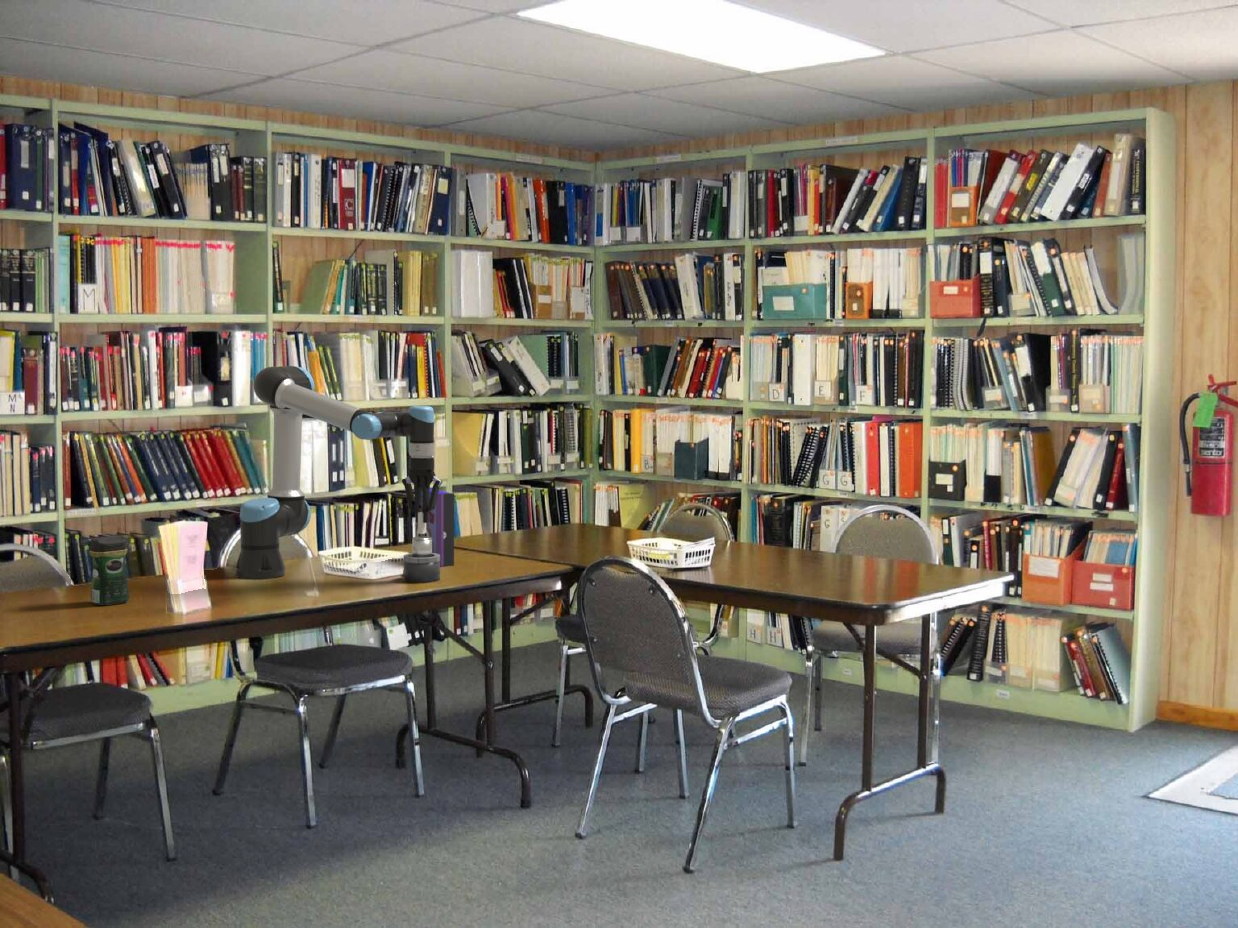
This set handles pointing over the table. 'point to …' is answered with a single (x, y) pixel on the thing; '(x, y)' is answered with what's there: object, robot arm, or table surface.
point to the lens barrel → (422, 568)
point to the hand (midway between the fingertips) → (422, 533)
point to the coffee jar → (109, 570)
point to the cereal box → (441, 528)
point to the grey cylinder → (422, 547)
